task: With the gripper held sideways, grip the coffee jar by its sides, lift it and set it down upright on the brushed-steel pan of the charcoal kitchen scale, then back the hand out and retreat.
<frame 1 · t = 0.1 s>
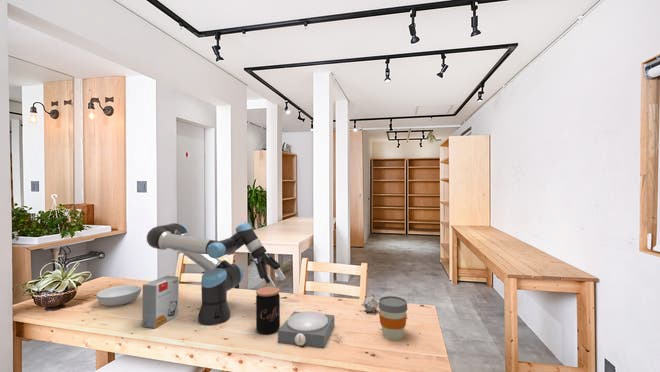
hand: (278, 283, 160), 15 cm above the table, tool tilted 35°, fingers open, 13 cm apart
serving bowl: (119, 302, 175), on the table
reusable coffee cup: (392, 335, 136), on the table
coffee jar: (268, 329, 142), on the table
game die: (370, 311, 161), on the table
hard drive box: (161, 321, 151), on the table
kitchen scale: (307, 333, 137), on the table
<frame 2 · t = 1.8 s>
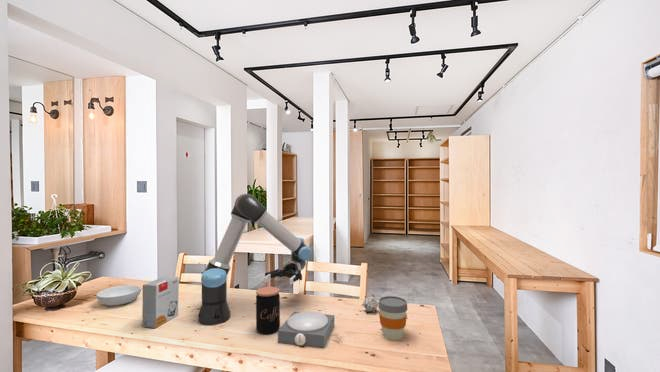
hand: (277, 281, 152), 19 cm above the table, tool horizontal, fingers open, 13 cm apart
nothing on the table moved.
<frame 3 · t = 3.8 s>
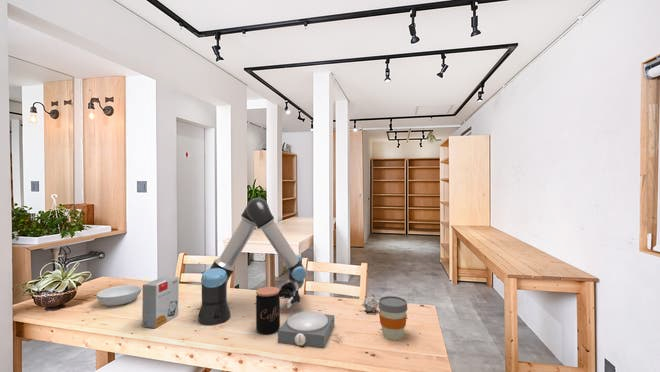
hand: (274, 303, 146), 10 cm above the table, tool horizontal, fingers open, 13 cm apart
nothing on the table moved.
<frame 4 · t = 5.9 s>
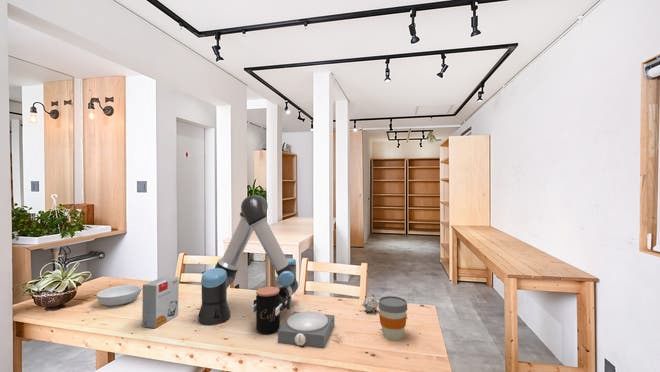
hand: (264, 311, 138), 10 cm above the table, tool horizontal, fingers closed on coffee jar, 11 cm apart
coffee jar: (268, 329, 142), on the table, touching gripper
everything else where it was.
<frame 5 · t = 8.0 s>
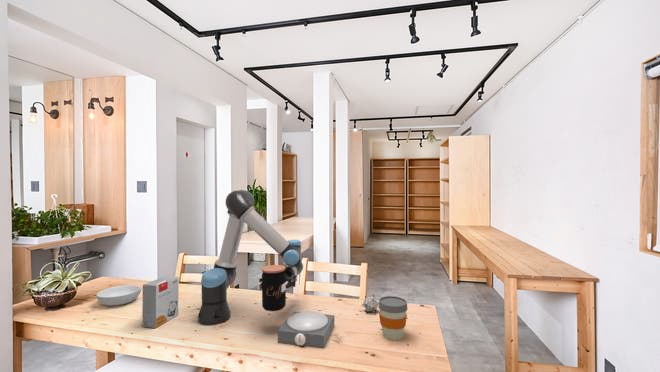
hand: (270, 288, 137), 20 cm above the table, tool horizontal, fingers closed on coffee jar, 11 cm apart
coffee jar: (274, 307, 141), point 10 cm above the table, touching gripper
everything else where it was.
when the fingers open (18 cm above the table, at t = 10.2 s): coffee jar drops 1 cm, resting on kitchen scale.
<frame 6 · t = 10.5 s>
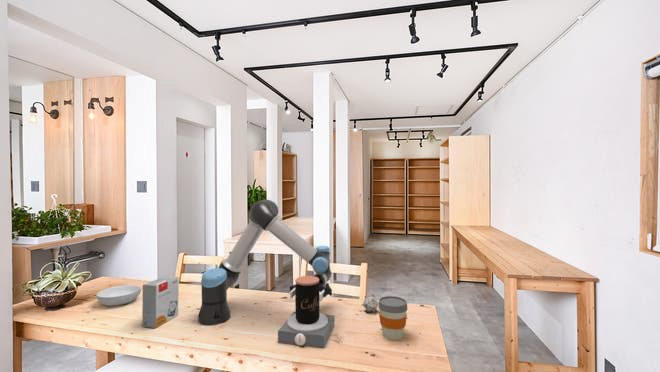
hand: (305, 296, 134), 18 cm above the table, tool horizontal, fingers open, 13 cm apart
coffee jar: (307, 320, 137), point 6 cm above the table, touching kitchen scale
everything else where it was.
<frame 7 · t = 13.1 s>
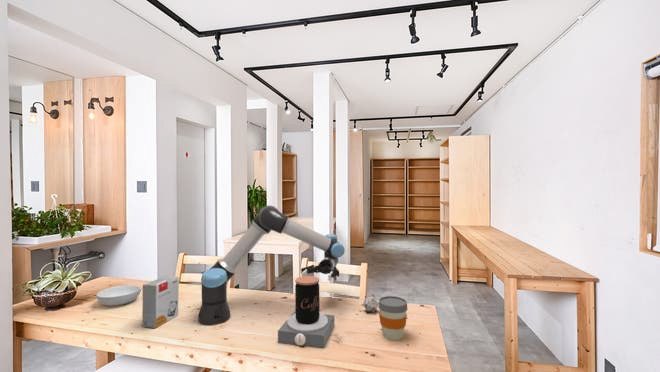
hand: (315, 276, 151), 21 cm above the table, tool horizontal, fingers open, 13 cm apart
nothing on the table moved.
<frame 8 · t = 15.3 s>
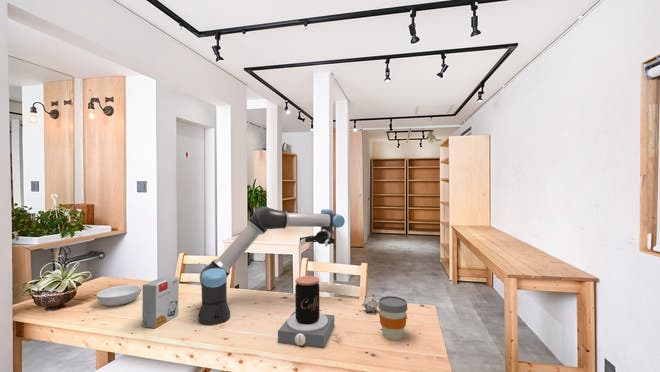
hand: (313, 243, 164), 35 cm above the table, tool horizontal, fingers open, 13 cm apart
nothing on the table moved.
at the end: coffee jar inside the target area on the kitchen scale (0.1 cm from its centre), point 6.0 cm above the kitchen scale's base; coffee jar tilted 0°; the gripper is holding nothing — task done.
